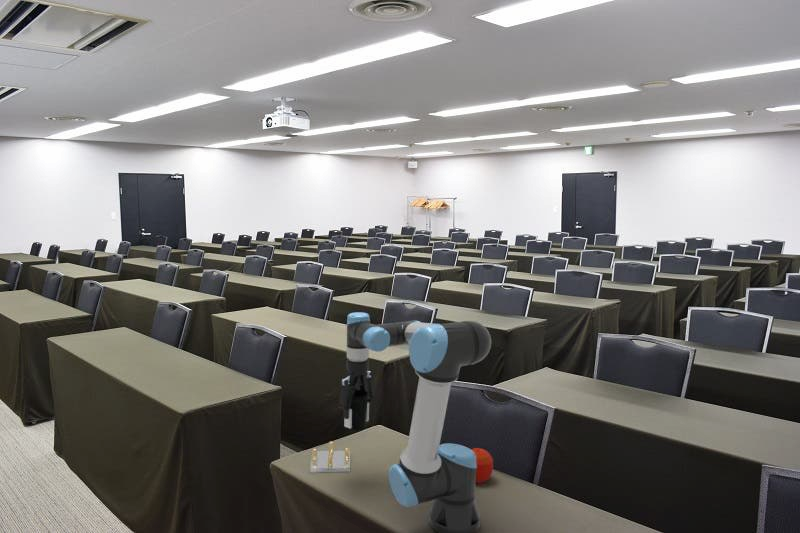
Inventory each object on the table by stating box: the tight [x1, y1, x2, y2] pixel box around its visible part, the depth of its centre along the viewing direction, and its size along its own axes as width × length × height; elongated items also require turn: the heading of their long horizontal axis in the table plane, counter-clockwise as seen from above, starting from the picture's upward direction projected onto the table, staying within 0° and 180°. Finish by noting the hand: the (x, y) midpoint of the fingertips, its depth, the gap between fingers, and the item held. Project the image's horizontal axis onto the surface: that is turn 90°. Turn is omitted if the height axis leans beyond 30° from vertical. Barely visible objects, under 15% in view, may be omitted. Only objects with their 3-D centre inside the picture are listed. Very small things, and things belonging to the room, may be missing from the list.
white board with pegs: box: [309, 440, 351, 474], centre depth 204 cm, size 14×14×6 cm
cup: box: [348, 388, 368, 431], centre depth 191 cm, size 8×8×12 cm
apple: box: [470, 447, 494, 484], centre depth 194 cm, size 10×10×12 cm
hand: (356, 423), depth 192 cm, fingers closed on cup, 8 cm apart
